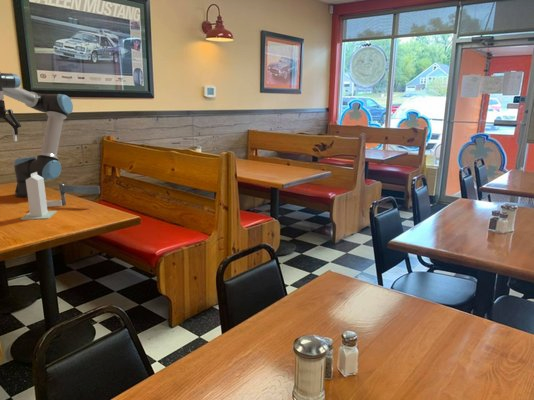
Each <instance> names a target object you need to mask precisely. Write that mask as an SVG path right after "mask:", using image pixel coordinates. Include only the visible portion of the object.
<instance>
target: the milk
mask: <svg viewBox="0 0 534 400" xmlns="http://www.w3.org/2000/svg"><path fill="white" fill-rule="evenodd" d="M26 187H27V194H28V197H27V200H28V207H29V212H30V216H43V215H45V214H47V213H48V211H49V210H48V206H47V202H46V201H47V195H46V187H45V179H44V178H43V177H41V176H39V175H38V174H37V172H35V173H32V174H31V177H30V178H28V179H27V180H26Z"/></svg>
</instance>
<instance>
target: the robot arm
mask: <svg viewBox="0 0 534 400" xmlns="http://www.w3.org/2000/svg"><path fill="white" fill-rule="evenodd" d="M21 83H22V81H21V78H20V76H19V75H18V74H16V73H10V72H9V73H7V72H4V73H3V72H1V71H0V119H2V120H3V119H4V121H5V122H7V124H9V126H11V127H12V128H11V130H12V131H11V132H12V138H13V139H12V140H13V142H18V137H17V136H18V135H19V128H22V124H21V122H19V120H18V119H17V117H16V116H15V114H14V111H13V109H12V108H11V109H6V104H5V100H4V99H5V96H6V97H8V98H11V99H13V100H15V101H17V102H20V103H23V104H25V106H26V107H29V108H30V109H33V110H36V111H38V112H41V113H45V114H46V115H47V121H46V126H45V131H44V136H43V141H42V145H41V151H40V153H39V154H37V157H36V156H28V157H20V158H16V159H14V166H13V167H14V172H15V173H14V174H15V178H16V179H15V180H16V185H15V189H14V196H15V197H17V198H28V194H27V187H26V180H27V179H28V178H30V177H31V174H32V173H35V172H37V174H38V175H39V176H41V177H43V178H44V180H55V179H57V178H58V177H59V176H60V175H61V172H62V166H61V165H62V164H61V162H60V161H59V157H58V156H57V155H58V150H59V146H60V139H61V136H62V129H63V125H64V120H66V119H67V118H68V115H70V114H71V113H73V110H74V103H73V102H72V99H71V98H70V97H69V96H68V95H66V94H61V93H57V94H55V93H53V94H52V93H51V94H49V93H37V92H34V91H28V90H26V89H25V88H22V87H20V86H21V85H22V84H21ZM7 114H8V115H9V116H7ZM9 117H10V118H9Z"/></svg>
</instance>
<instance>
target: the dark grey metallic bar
mask: <svg viewBox="0 0 534 400" xmlns="http://www.w3.org/2000/svg"><path fill="white" fill-rule="evenodd" d="M58 186H59V193H60V194H61V193H65V194H66V193H70V194H71V193H72V194H91V195H93V194H95V195H96V194H97V195H100V194H101V186H100V185H79V184H78V185H75V184H65V183H59V185H58Z"/></svg>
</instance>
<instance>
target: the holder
mask: <svg viewBox="0 0 534 400" xmlns="http://www.w3.org/2000/svg"><path fill="white" fill-rule="evenodd" d="M60 198H61V199H60V200H46V202H47V207H63V206H66V205H67V201H66V193H60Z"/></svg>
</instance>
